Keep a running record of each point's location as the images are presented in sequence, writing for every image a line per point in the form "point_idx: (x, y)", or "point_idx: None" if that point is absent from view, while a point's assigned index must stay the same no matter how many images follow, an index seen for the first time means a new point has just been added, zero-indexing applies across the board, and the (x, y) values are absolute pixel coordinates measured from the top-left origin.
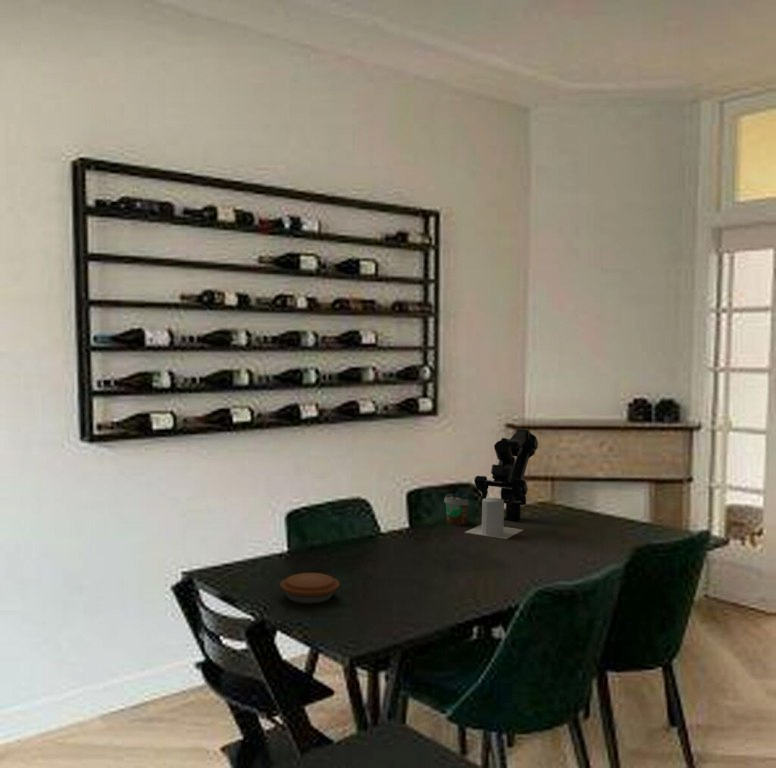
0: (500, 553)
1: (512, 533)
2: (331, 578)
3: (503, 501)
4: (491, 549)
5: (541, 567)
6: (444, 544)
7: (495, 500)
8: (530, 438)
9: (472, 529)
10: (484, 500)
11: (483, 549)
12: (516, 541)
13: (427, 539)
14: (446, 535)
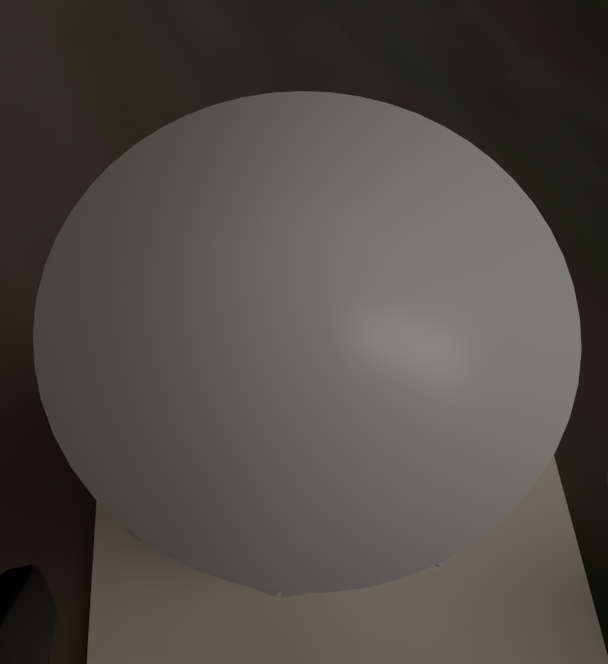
0: (23, 37)
1: (127, 596)
2: None
3: (41, 354)
4: (108, 74)
5: None
6: (409, 16)
7: (237, 275)
8: None
9: None
10: (429, 131)
11: (153, 50)
12: (9, 359)
13: (565, 44)
14: (559, 185)
